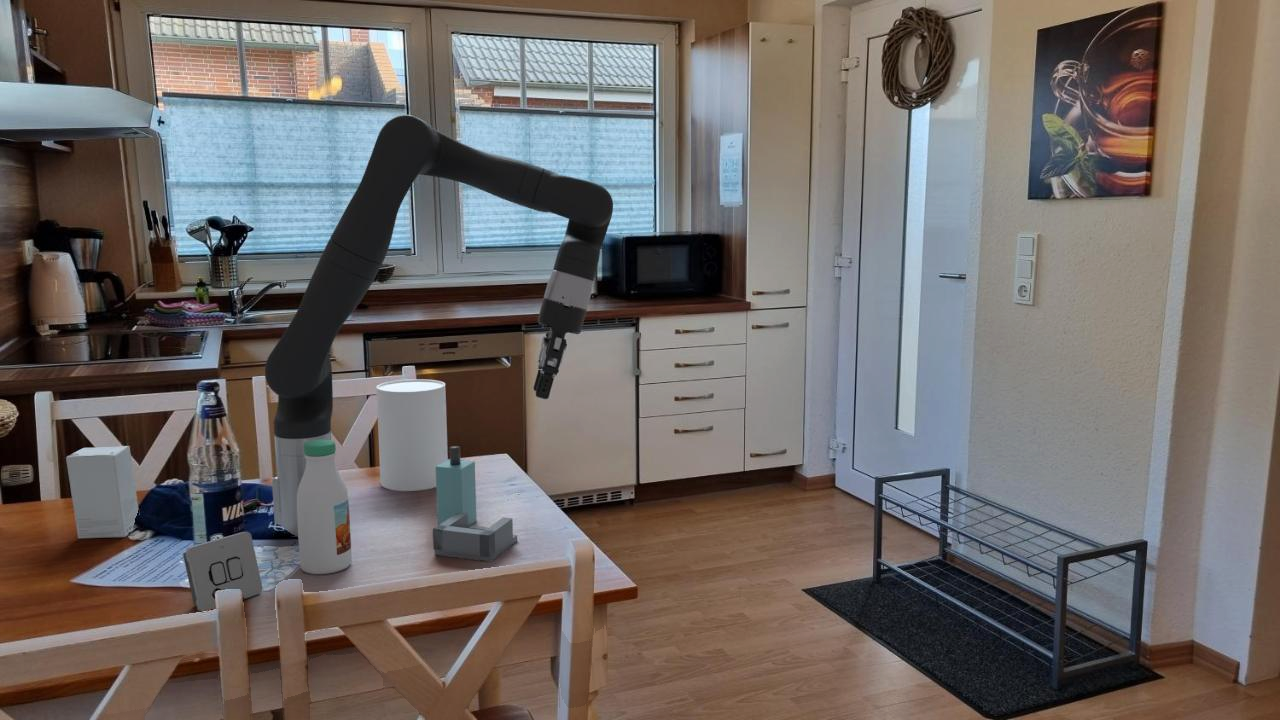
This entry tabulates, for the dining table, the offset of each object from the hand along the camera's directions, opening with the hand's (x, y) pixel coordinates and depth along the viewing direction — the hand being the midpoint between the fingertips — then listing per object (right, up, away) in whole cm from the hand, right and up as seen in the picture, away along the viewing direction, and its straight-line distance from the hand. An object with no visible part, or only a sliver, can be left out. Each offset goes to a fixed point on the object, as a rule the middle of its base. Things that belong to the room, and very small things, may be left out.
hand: (540, 394), depth 158 cm
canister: (-29, -19, +35) cm, 49 cm away
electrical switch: (-43, -29, -23) cm, 57 cm away
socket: (-10, -25, -2) cm, 27 cm away
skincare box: (-75, -24, +4) cm, 79 cm away
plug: (-16, -23, +9) cm, 30 cm away
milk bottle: (-32, -27, -10) cm, 43 cm away
